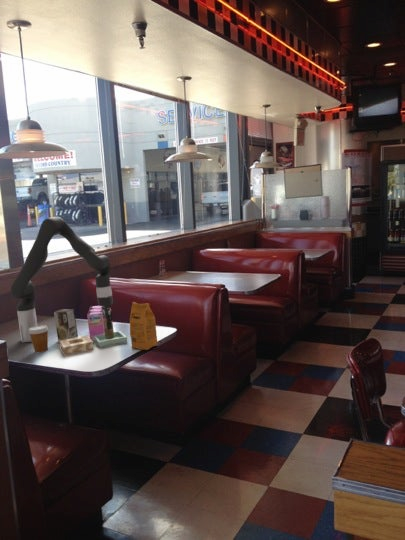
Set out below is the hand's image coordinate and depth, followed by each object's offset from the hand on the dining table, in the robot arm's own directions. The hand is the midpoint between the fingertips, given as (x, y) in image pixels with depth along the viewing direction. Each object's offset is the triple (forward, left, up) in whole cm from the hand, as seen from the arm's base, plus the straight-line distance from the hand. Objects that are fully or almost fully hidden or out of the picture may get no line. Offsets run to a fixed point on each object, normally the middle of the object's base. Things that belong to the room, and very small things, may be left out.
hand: (108, 327), depth 253 cm
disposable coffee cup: (-33, +10, -8) cm, 35 cm away
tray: (0, 0, -8) cm, 8 cm away
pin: (0, 0, -5) cm, 5 cm away
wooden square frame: (-17, 0, -8) cm, 18 cm away
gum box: (-1, +22, -8) cm, 24 cm away
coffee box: (-18, +21, -8) cm, 29 cm away
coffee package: (+12, -20, -8) cm, 25 cm away
